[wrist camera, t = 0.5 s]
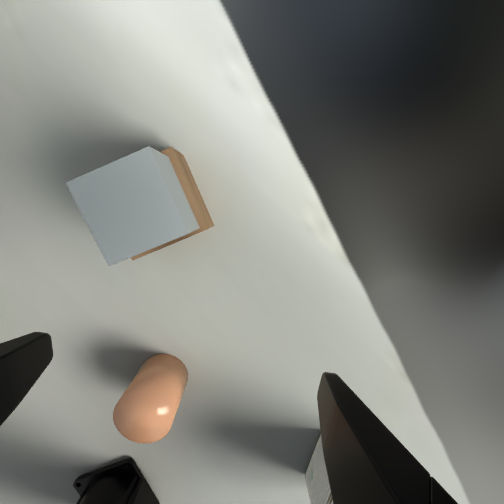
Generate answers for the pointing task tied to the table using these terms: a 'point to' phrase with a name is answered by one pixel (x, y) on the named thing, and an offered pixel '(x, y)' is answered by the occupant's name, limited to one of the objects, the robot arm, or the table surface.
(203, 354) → the table surface
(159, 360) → the tan egg
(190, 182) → the walnut base block
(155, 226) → the slate block
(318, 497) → the syrup box
